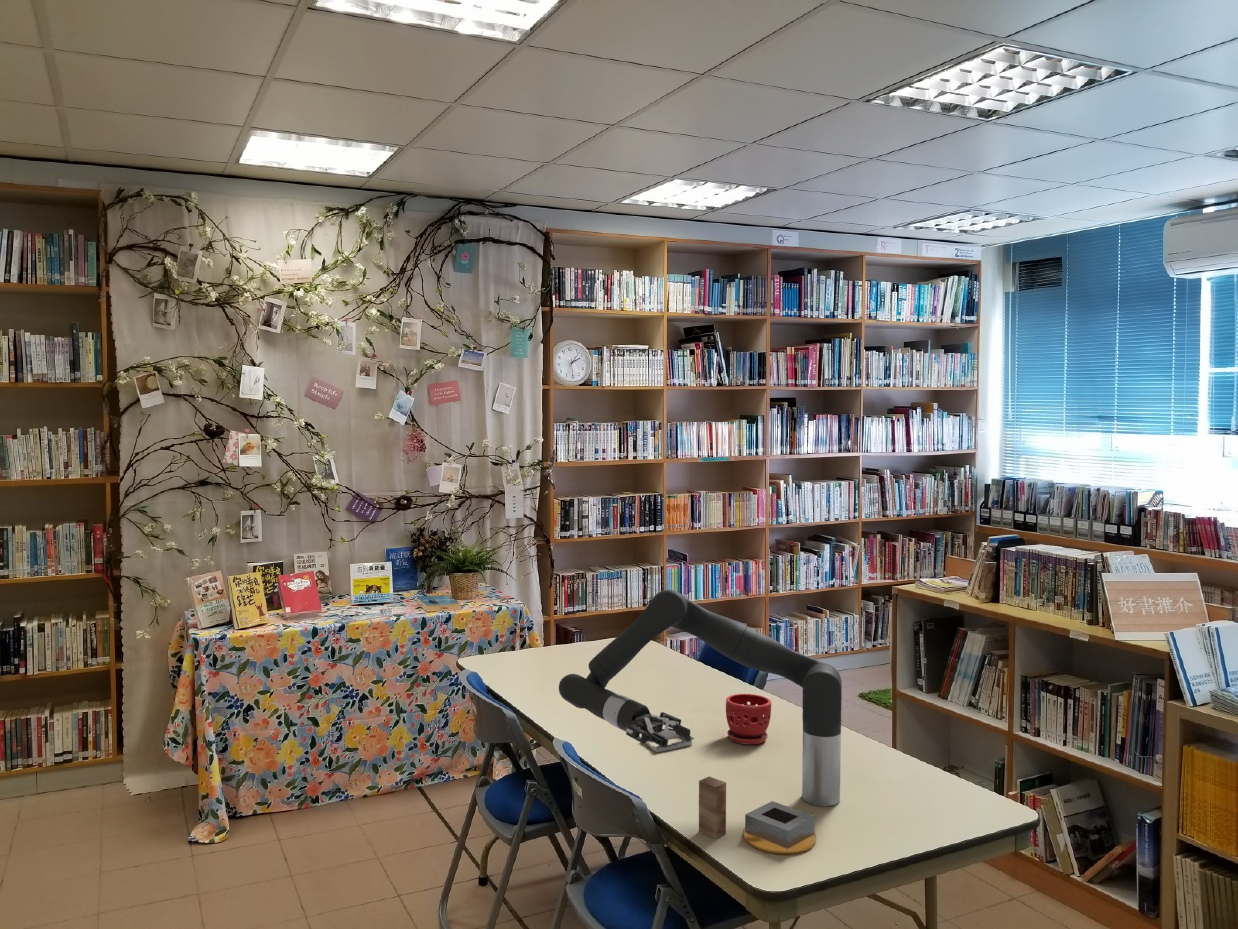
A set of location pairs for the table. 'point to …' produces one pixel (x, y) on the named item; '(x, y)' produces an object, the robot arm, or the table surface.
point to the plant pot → (748, 718)
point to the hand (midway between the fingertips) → (678, 738)
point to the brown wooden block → (712, 807)
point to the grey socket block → (779, 829)
